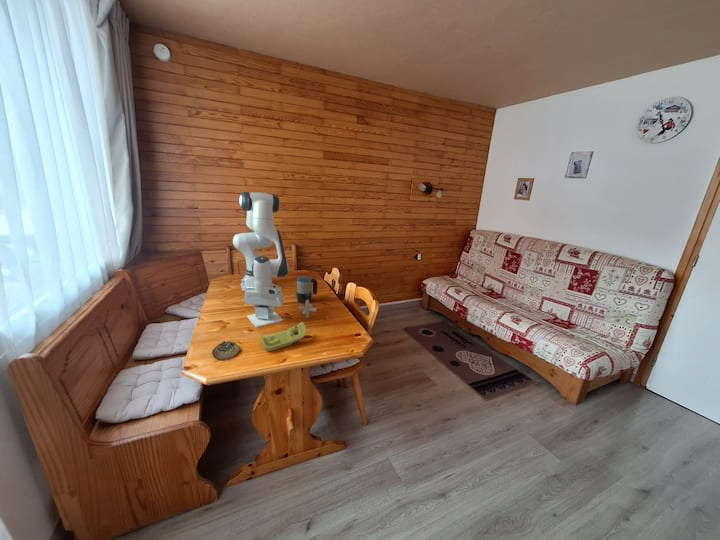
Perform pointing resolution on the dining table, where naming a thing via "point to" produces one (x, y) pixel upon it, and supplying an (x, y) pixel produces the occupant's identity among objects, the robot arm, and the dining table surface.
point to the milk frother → (305, 289)
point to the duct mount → (264, 320)
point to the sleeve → (263, 312)
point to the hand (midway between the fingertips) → (264, 312)
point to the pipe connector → (307, 308)
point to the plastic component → (283, 337)
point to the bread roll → (225, 350)
